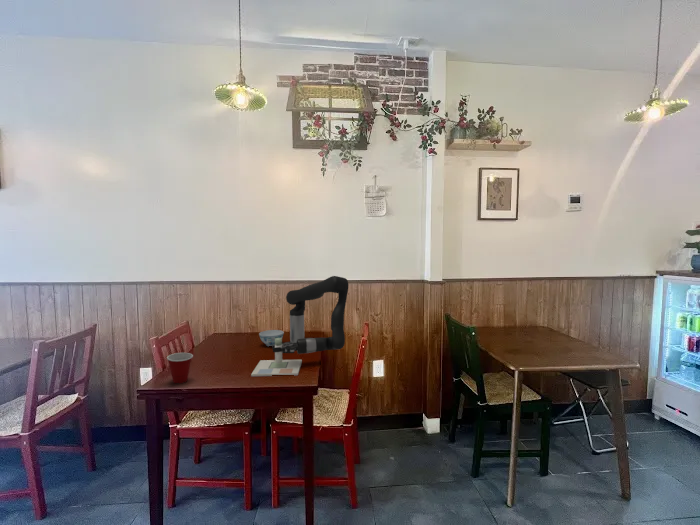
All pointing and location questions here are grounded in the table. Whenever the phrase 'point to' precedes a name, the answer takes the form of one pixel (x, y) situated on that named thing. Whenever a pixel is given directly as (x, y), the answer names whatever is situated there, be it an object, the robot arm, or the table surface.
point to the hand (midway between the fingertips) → (272, 349)
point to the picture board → (277, 368)
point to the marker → (278, 354)
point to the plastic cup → (179, 366)
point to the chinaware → (270, 336)
